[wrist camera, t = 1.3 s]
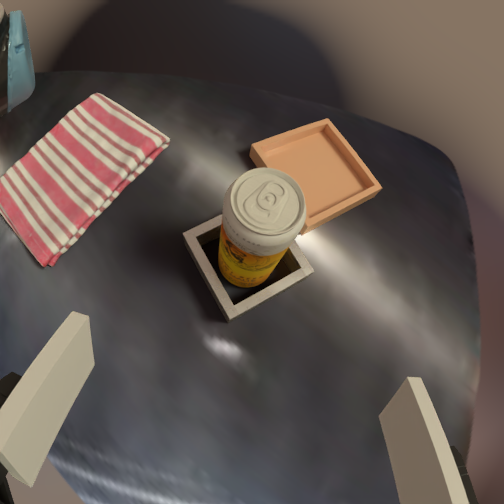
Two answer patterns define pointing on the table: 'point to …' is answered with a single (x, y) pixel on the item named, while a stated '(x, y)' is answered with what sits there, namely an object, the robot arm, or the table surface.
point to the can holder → (231, 312)
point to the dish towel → (75, 174)
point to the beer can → (258, 224)
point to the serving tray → (319, 170)
